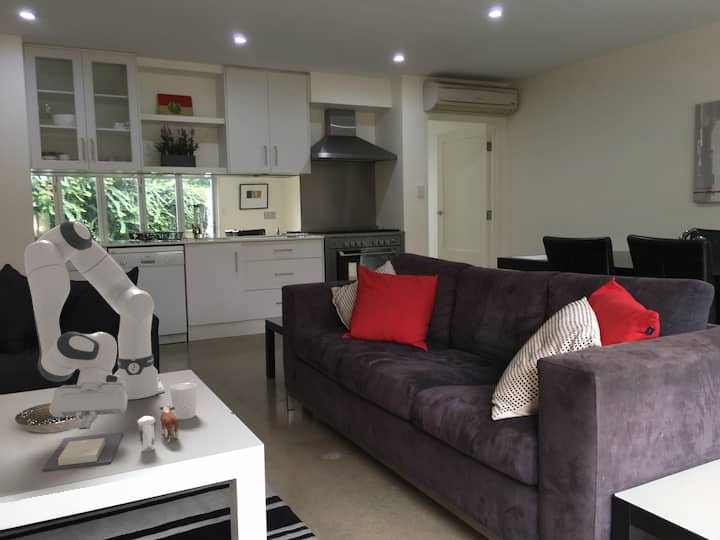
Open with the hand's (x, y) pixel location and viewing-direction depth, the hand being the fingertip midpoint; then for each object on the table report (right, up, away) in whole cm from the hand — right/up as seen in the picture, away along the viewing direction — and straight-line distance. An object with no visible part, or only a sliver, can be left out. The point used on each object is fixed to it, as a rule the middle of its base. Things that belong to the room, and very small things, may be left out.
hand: (83, 428), depth 159 cm
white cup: (+20, -4, +27) cm, 33 cm away
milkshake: (+18, -6, -1) cm, 19 cm away
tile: (+1, -4, +1) cm, 4 cm away
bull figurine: (+21, -5, +9) cm, 23 cm away
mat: (+1, -6, -1) cm, 6 cm away
